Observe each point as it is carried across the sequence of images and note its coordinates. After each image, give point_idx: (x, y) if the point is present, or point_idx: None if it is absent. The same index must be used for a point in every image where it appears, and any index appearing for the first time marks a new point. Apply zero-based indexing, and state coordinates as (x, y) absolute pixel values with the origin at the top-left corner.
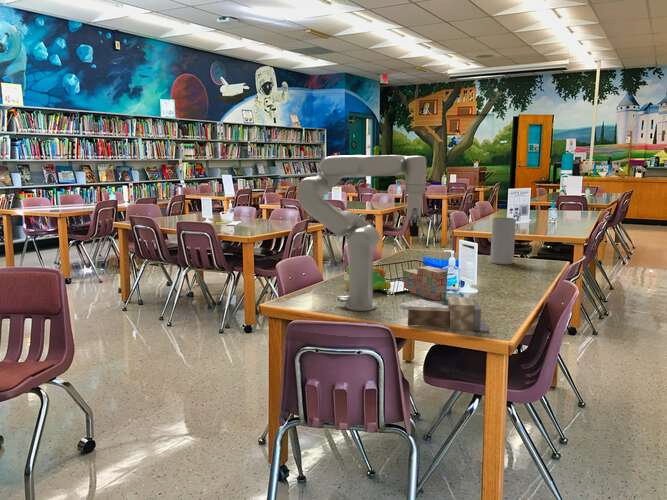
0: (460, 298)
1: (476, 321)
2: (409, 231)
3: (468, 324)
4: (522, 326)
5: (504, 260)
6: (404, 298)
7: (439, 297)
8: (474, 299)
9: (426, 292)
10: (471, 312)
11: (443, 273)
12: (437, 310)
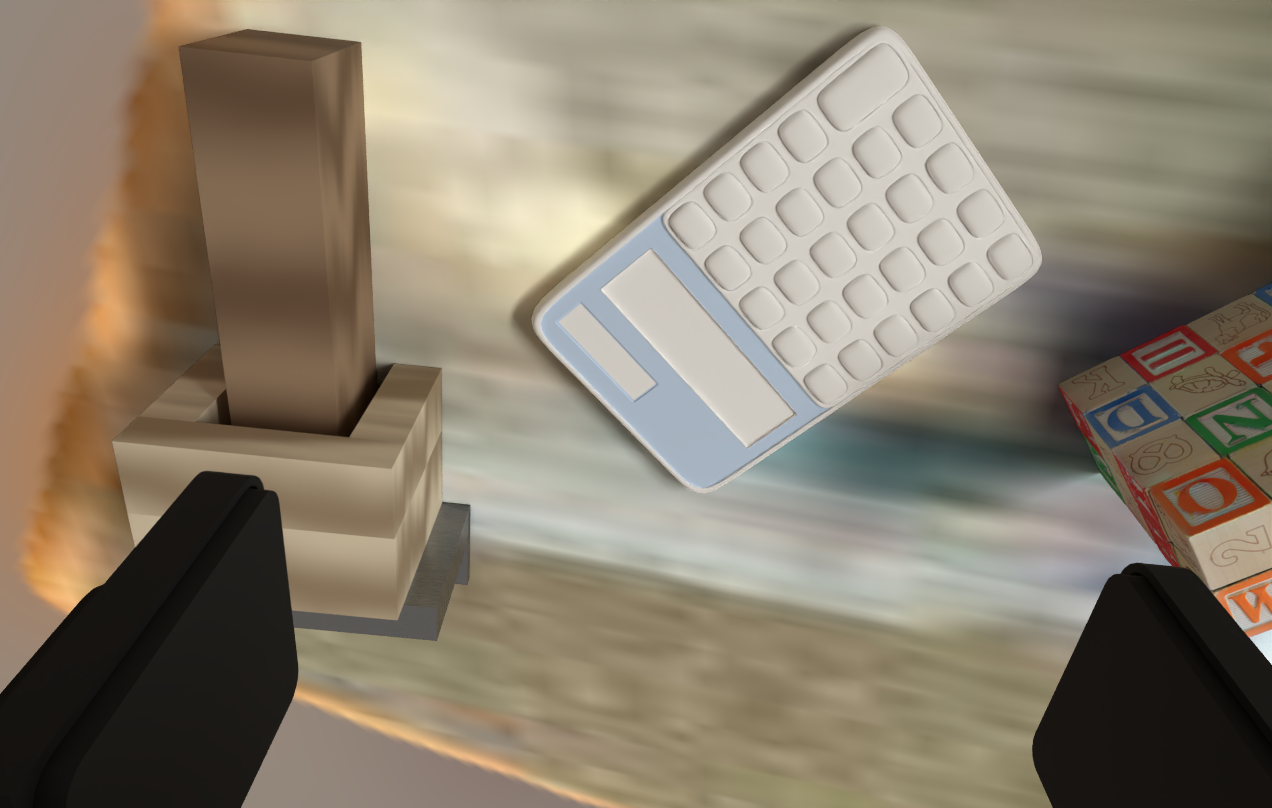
0: (352, 546)
1: None
2: (1160, 589)
3: None
4: (386, 730)
5: None
6: (1197, 113)
7: (1083, 428)
8: (434, 633)
9: (1205, 346)
10: None
11: None
12: (225, 316)
